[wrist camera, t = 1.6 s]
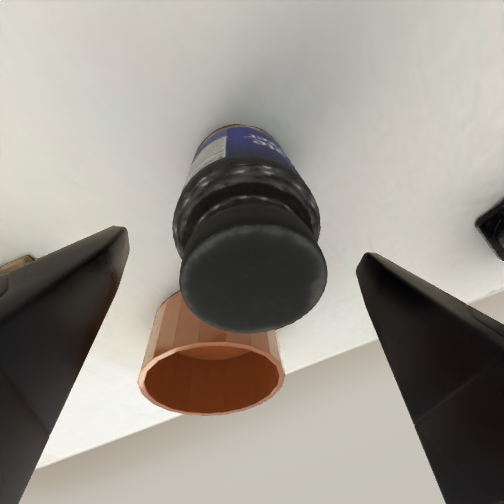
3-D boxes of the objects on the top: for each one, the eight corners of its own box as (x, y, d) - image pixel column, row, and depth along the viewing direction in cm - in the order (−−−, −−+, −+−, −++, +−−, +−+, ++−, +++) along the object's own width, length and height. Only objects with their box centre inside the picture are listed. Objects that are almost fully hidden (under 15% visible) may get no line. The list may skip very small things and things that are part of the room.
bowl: (297, 315, 26) (313, 371, 21) (227, 368, 31) (228, 424, 26) (198, 262, 21) (190, 320, 16) (133, 336, 26) (112, 398, 21)
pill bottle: (302, 173, 17) (386, 285, 8) (239, 228, 19) (252, 365, 10) (238, 96, 14) (263, 143, 5) (172, 172, 16) (111, 296, 7)
